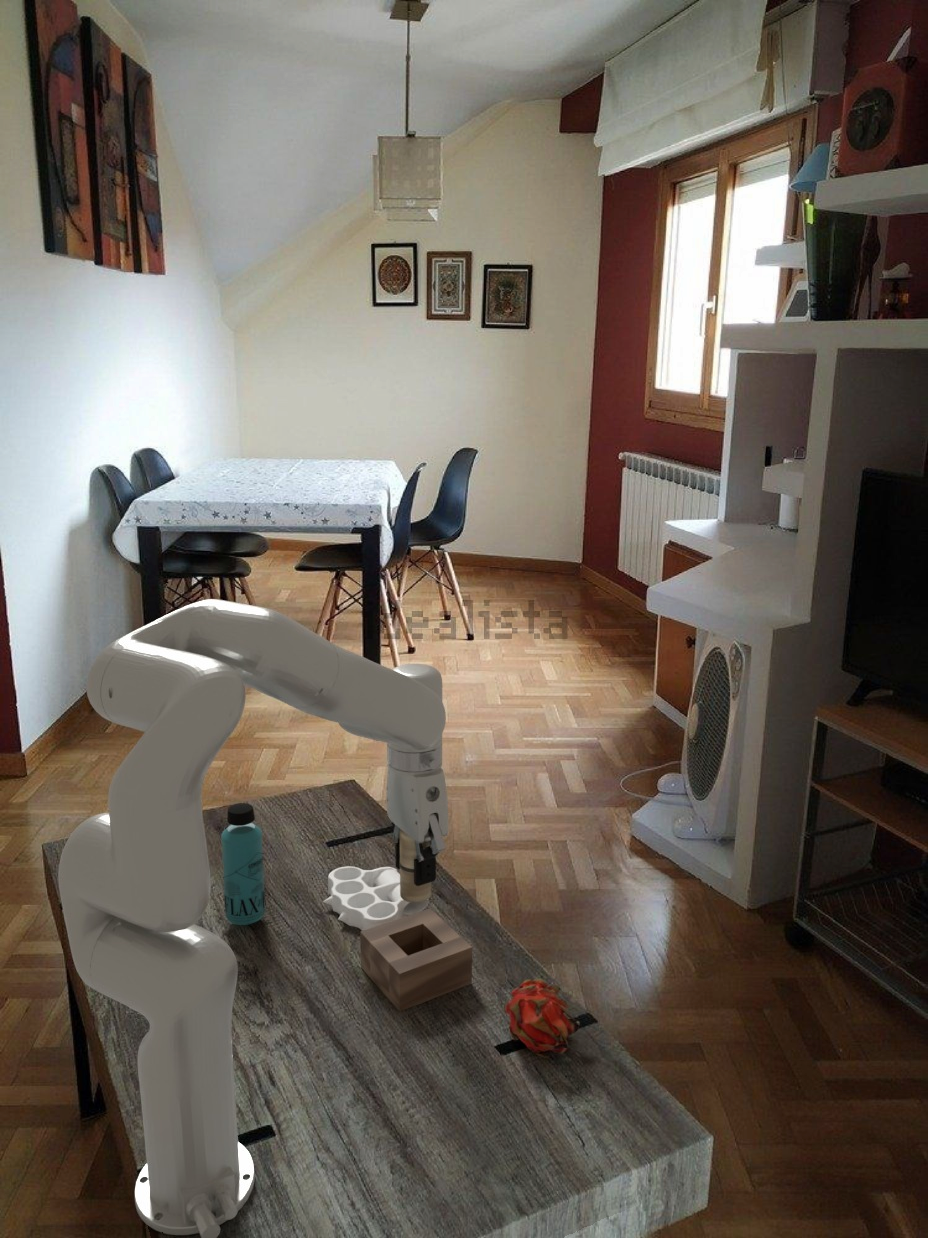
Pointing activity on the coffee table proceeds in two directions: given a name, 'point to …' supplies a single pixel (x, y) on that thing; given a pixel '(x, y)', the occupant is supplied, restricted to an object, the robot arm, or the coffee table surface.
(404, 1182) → the coffee table surface
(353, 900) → the knuckle duster
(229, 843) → the beverage bottle
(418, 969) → the socket block
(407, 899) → the peg
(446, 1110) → the coffee table surface
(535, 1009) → the dragon fruit
